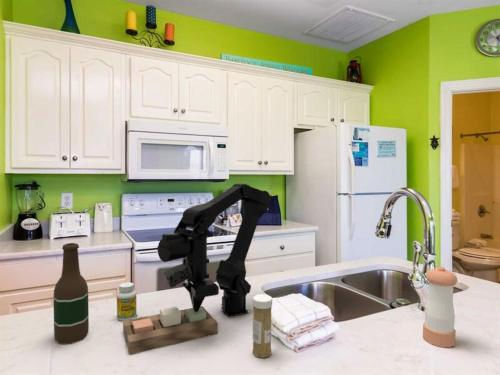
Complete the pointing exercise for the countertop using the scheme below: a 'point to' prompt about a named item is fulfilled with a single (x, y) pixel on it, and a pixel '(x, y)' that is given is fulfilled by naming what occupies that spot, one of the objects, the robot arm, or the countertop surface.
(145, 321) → the terracotta key
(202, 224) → the robot arm
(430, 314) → the pepper shaker
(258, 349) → the sprinkles bottle
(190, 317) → the sage key
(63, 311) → the beer bottle
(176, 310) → the cream key
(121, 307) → the supplement bottle
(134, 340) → the wooden tray
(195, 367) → the countertop surface
